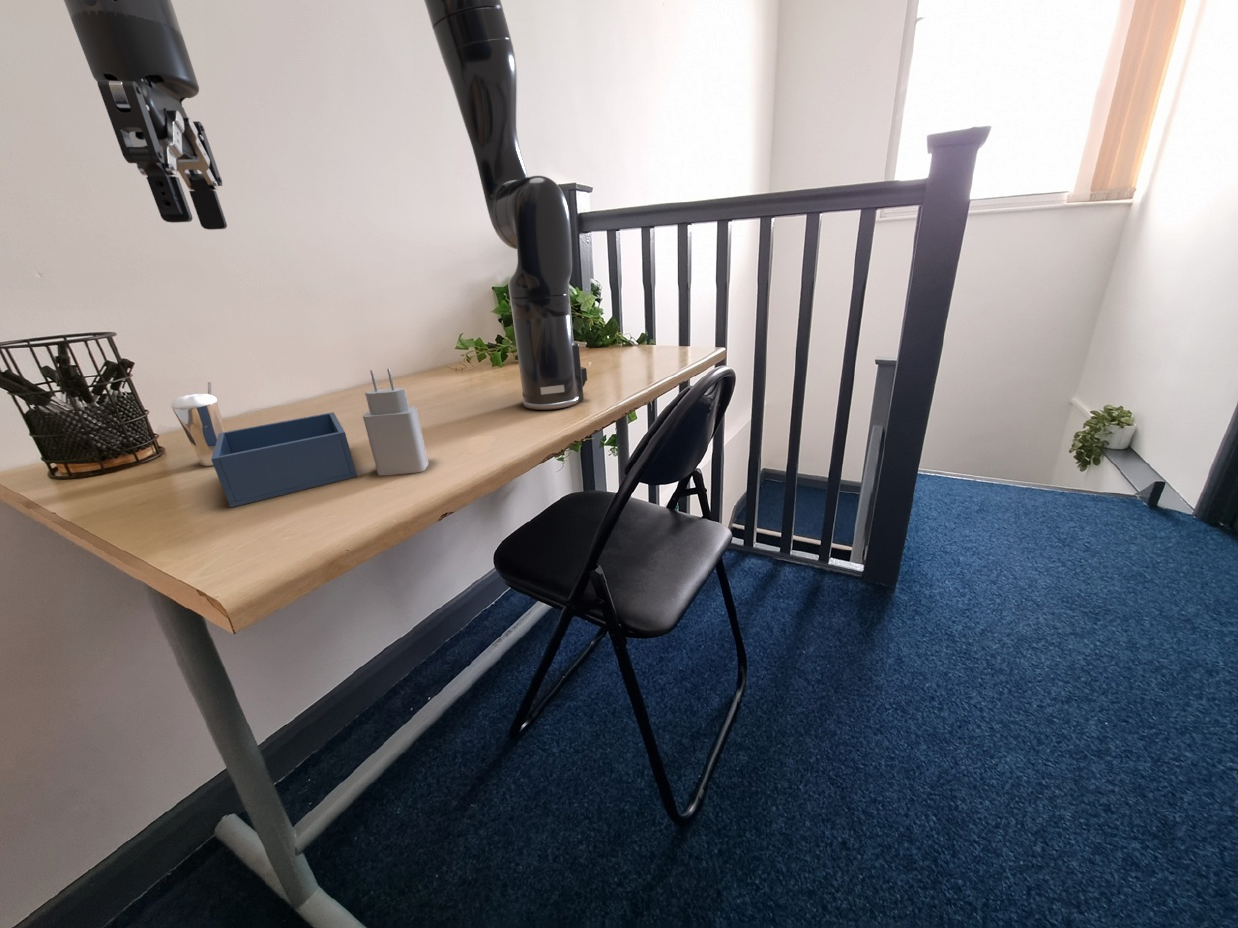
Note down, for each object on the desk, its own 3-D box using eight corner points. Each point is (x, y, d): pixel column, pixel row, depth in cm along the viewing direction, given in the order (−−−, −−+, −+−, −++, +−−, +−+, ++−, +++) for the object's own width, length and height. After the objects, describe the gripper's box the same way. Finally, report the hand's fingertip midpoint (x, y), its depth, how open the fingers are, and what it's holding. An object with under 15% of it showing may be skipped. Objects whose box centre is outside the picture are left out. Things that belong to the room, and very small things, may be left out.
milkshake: (251, 452, 68) (225, 381, 65) (218, 467, 63) (188, 391, 60) (221, 453, 69) (194, 382, 65) (186, 468, 64) (155, 392, 60)
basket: (344, 451, 67) (333, 412, 65) (357, 476, 58) (345, 432, 56) (234, 475, 61) (218, 433, 58) (230, 507, 52) (211, 459, 50)
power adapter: (423, 472, 58) (400, 370, 54) (375, 476, 58) (348, 374, 53) (430, 462, 61) (409, 364, 56) (385, 466, 61) (360, 368, 56)
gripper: (135, -11, 39) (213, 218, 45) (210, 58, 52) (263, 229, 58) (14, -19, 37) (112, 221, 43) (122, 54, 50) (187, 232, 56)
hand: (198, 226), depth 51 cm, fingers open, 8 cm apart
